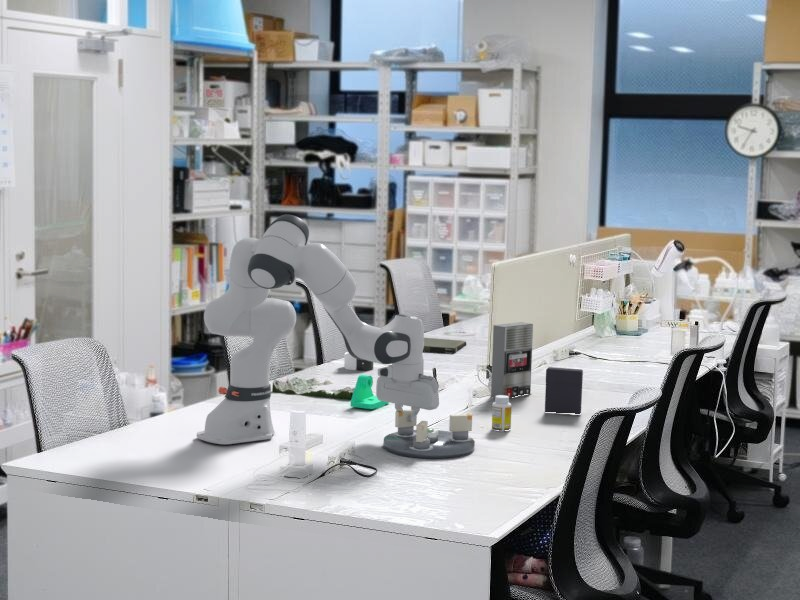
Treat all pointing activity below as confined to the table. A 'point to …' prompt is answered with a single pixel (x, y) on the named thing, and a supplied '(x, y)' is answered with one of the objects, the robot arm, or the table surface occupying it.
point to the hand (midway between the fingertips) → (407, 420)
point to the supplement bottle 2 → (501, 413)
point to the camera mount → (365, 394)
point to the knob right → (460, 426)
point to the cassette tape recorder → (511, 359)
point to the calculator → (563, 390)
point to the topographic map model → (301, 388)
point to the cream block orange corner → (404, 422)
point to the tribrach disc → (439, 445)
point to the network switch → (442, 345)
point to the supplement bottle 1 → (364, 365)
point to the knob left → (421, 436)
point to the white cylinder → (349, 361)
